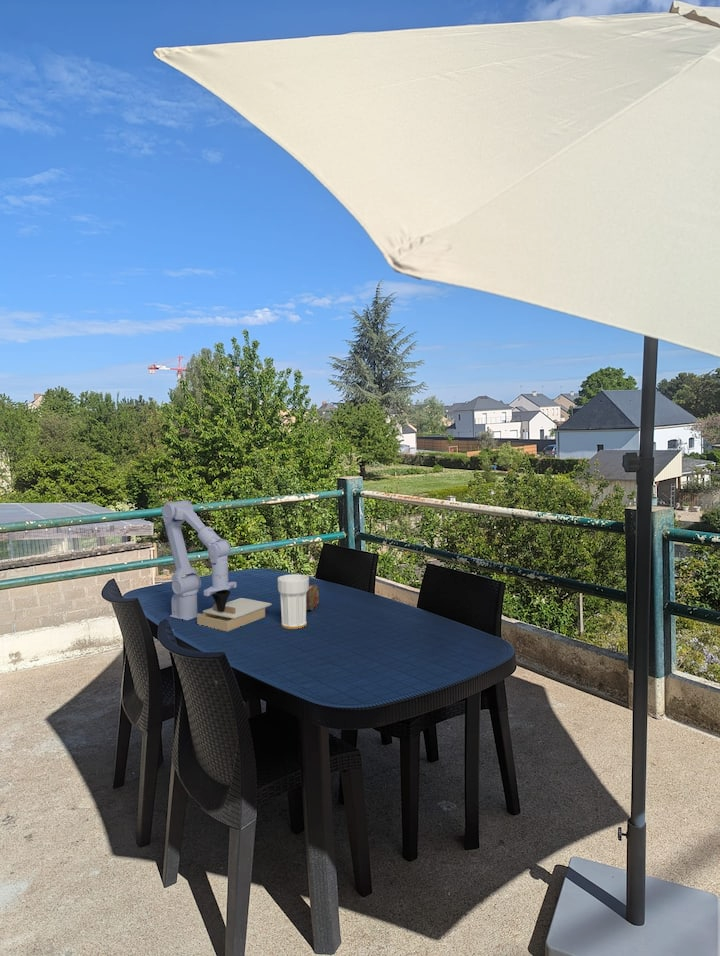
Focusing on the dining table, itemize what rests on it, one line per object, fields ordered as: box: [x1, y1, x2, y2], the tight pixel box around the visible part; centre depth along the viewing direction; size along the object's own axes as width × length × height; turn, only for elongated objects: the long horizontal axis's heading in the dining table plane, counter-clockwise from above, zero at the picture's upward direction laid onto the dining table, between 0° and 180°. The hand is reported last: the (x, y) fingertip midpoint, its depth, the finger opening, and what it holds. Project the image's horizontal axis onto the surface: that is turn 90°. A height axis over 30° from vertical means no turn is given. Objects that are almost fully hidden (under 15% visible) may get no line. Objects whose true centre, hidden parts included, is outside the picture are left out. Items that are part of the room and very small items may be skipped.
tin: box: [306, 583, 320, 612], centre depth 259 cm, size 15×3×8 cm, turn 168°
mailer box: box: [196, 607, 266, 632], centre depth 243 cm, size 15×20×4 cm
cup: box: [277, 573, 310, 630], centre depth 237 cm, size 11×11×17 cm
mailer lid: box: [202, 597, 273, 619], centre depth 246 cm, size 16×20×3 cm
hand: (221, 610), depth 238 cm, fingers closed
